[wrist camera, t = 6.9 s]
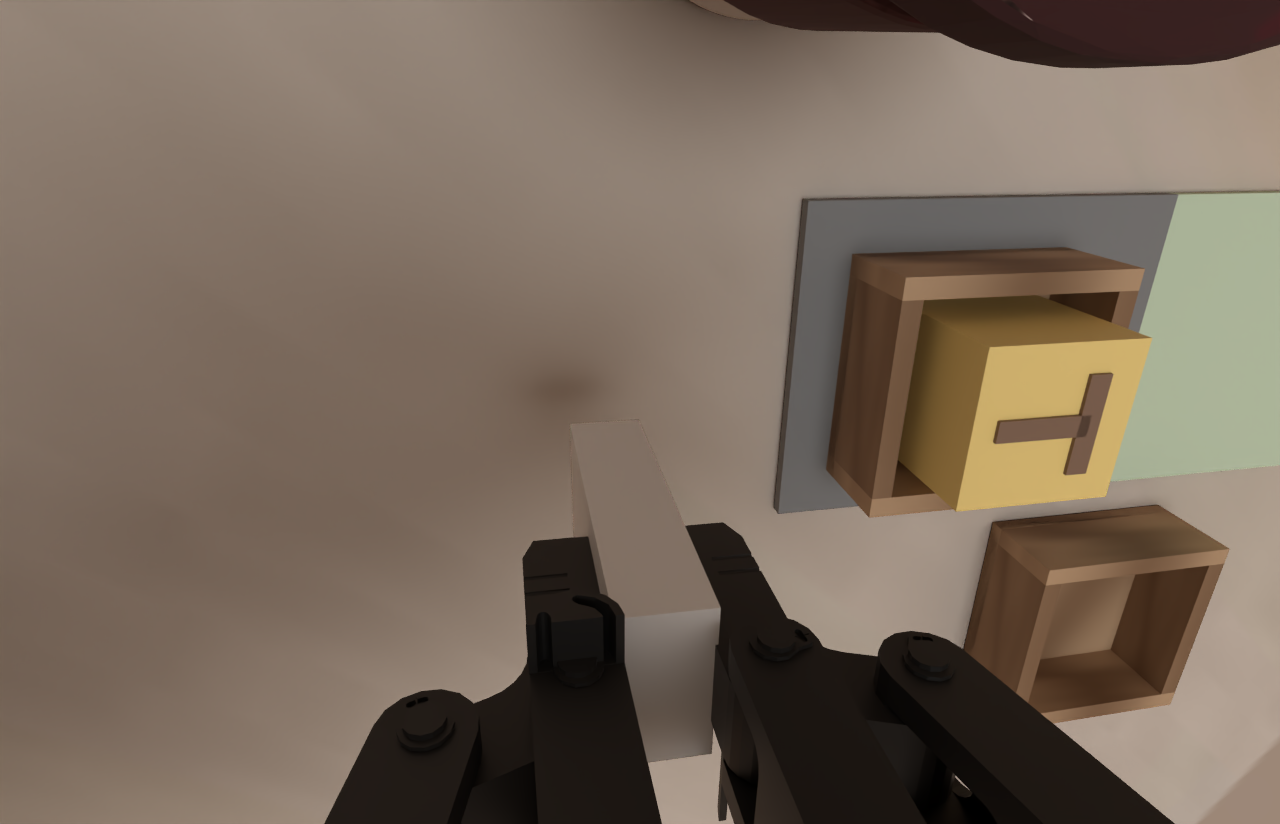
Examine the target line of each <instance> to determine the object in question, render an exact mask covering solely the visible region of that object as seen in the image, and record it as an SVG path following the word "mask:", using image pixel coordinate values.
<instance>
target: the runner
mask: <svg viewBox="0 0 1280 824" xmlns="http://www.w3.org/2000/svg"><path fill="white" fill-rule="evenodd" d="M1054 247H1068V248H1071V249H1075V250H1079V251H1082V252H1086V253H1090V254H1093V255H1097V256H1101V257H1104V258H1108V259H1112V260H1115V261H1119V262H1123V263H1126V264H1130V265H1134V266H1137V267H1141V268H1145V271H1144V275H1143V278H1142V282H1141V285H1140V289H1139V292H1138V296H1137V300H1136V303H1135V307H1134V310H1133V314H1132V317H1131V321H1130V324H1129V328H1128V329H1130V330H1132V331H1135V332H1138V333H1140V334H1143V335H1146V336H1149V337H1151V338H1152V341H1151V345H1150V348H1149V351H1148V355H1147V358H1146V362H1145V365H1144V368H1143V372H1142V375H1141V379H1140V382H1139V385H1138V389H1137V392H1136V396H1135V399H1134V402H1133V406H1132V409H1131V412H1130V416H1129V419H1128V423H1127V426H1126V429H1125V433H1124V436H1123V440H1122V443H1121V446H1120V450H1119V453H1118V456H1117V460H1116V463H1115V467H1114V470H1113V473H1112V477H1111V480H1110V482H1112V481H1123V480H1133V479H1143V478H1154V477H1164V476H1174V475H1184V474H1195V473H1205V472H1215V471H1226V470H1236V469H1246V468H1257V467H1267V466H1277V465H1280V191H1251V192H1191V193H1131V194H1070V195H1010V196H949V197H889V198H828V199H803V204H802V214H801V225H800V236H799V246H798V257H797V268H796V278H795V289H794V300H793V310H792V321H791V332H790V342H789V353H788V364H787V374H786V385H785V396H784V406H783V417H782V428H781V438H780V449H779V459H778V470H777V481H776V491H775V502H774V508H775V510H776V511H777V513H778V514H782V513H792V512H803V511H813V510H823V509H834V508H844V507H854V506H858V505H857V504H856V502H855V501H854V500H853V499H852V498H851V497H850V496H849V495H848V494H847V492H846V491H845V490H844V489H843V488H842V487H841V486H840V485H839V484H838V483H837V481H836V480H835V479H834V478H833V477H832V476H831V475H830V474H829V473H828V471H827V470H826V465H827V457H828V449H829V441H830V432H831V424H832V416H833V408H834V400H835V392H836V384H837V375H838V367H839V359H840V351H841V343H842V335H843V327H844V318H845V310H846V302H847V294H848V286H849V278H850V270H851V261H852V254H861V253H893V252H925V251H957V250H990V249H1022V248H1054Z"/></svg>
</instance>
